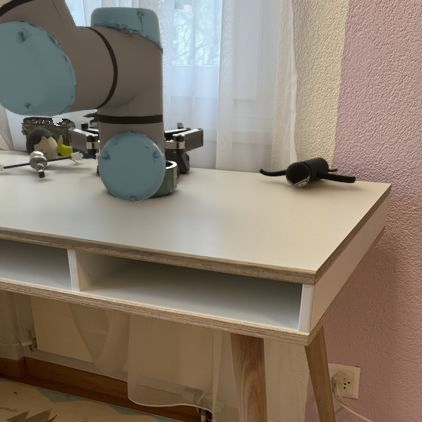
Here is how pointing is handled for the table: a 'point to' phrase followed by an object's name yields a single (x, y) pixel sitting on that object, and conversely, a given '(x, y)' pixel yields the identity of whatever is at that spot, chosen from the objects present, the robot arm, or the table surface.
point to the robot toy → (41, 162)
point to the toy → (51, 145)
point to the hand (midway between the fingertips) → (138, 131)
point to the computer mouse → (178, 160)
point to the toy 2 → (309, 173)
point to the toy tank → (49, 127)
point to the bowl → (168, 180)
